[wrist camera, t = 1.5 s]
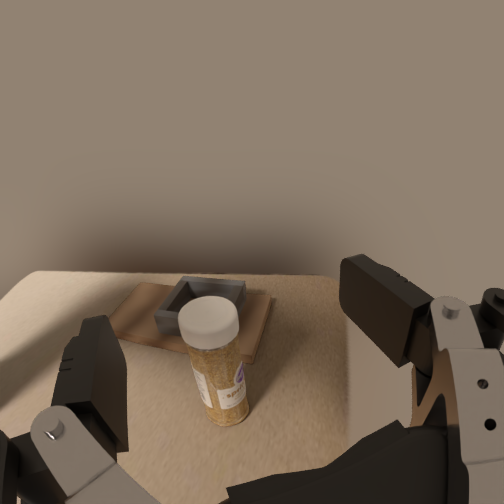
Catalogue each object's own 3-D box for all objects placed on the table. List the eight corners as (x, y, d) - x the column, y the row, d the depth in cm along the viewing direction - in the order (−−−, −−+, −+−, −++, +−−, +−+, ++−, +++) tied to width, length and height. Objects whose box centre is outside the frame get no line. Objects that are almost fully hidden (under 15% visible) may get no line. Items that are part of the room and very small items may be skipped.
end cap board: (104, 334, 40) (94, 310, 37) (142, 289, 50) (136, 266, 48) (252, 363, 34) (249, 336, 32) (271, 303, 45) (270, 277, 43)
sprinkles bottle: (249, 427, 27) (235, 330, 20) (203, 427, 27) (170, 331, 21) (249, 392, 31) (238, 292, 24) (208, 392, 31) (182, 294, 25)
